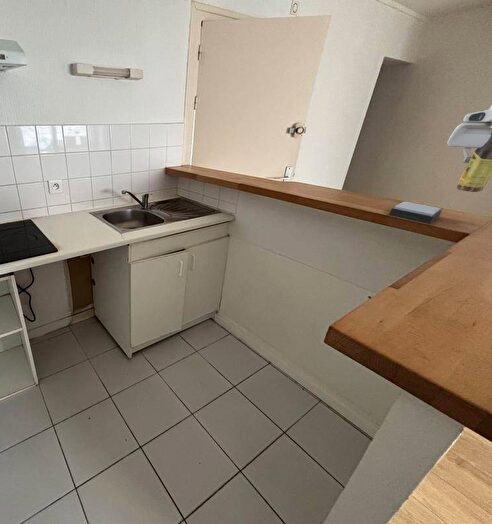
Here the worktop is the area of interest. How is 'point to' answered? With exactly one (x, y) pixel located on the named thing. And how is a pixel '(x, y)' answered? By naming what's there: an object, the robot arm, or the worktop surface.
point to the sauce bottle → (477, 169)
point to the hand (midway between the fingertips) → (482, 163)
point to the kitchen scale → (416, 212)
